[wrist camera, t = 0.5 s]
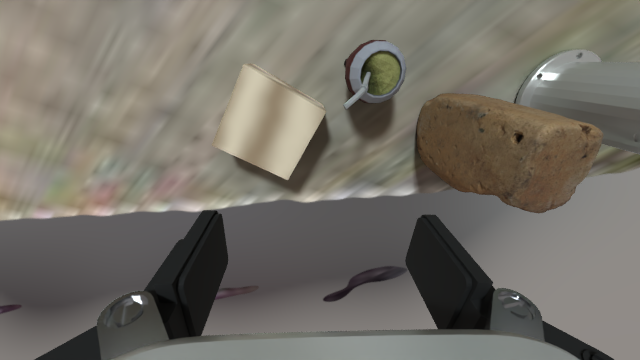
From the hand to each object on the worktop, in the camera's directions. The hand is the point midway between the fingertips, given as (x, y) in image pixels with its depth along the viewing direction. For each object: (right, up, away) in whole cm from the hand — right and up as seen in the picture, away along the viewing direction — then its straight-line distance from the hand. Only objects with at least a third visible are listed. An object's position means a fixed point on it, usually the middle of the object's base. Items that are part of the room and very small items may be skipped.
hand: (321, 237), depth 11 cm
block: (+19, +11, +27) cm, 35 cm away
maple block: (-7, +12, +25) cm, 28 cm away
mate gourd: (+6, +18, +23) cm, 29 cm away
